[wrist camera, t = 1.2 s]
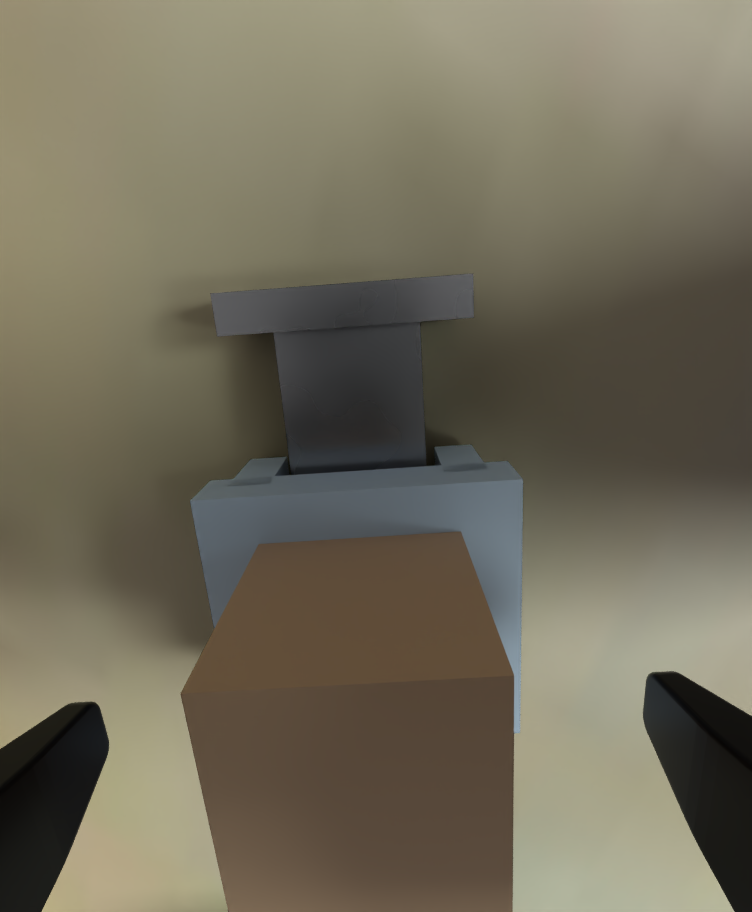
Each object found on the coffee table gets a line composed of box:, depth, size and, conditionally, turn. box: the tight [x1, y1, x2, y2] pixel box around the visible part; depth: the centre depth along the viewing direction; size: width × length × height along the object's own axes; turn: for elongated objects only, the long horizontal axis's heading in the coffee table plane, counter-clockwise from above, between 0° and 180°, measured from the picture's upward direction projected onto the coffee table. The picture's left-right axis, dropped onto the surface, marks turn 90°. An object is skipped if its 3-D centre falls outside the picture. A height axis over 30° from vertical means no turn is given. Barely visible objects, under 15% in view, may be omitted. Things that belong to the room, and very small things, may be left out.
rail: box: [210, 274, 474, 475], centre depth 13 cm, size 5×20×2 cm, turn 4°
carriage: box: [181, 444, 523, 912], centre depth 10 cm, size 6×6×7 cm
